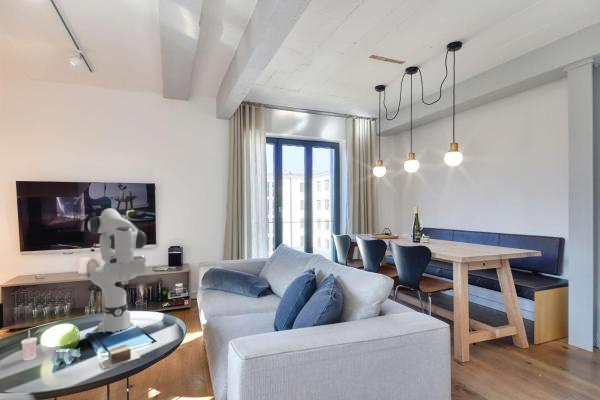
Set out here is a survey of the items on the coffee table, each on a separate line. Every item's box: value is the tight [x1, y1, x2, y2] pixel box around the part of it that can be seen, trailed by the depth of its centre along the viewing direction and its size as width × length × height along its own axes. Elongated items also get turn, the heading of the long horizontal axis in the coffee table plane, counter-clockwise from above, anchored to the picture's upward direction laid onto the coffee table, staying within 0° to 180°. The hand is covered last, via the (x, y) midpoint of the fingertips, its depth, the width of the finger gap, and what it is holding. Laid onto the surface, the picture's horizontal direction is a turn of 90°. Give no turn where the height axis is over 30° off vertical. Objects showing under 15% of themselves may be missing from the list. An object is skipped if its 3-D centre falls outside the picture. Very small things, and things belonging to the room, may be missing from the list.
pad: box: [98, 350, 141, 370], centre depth 158 cm, size 9×16×1 cm, turn 131°
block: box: [107, 343, 131, 364], centre depth 159 cm, size 4×8×8 cm
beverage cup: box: [20, 329, 38, 361], centre depth 162 cm, size 6×6×14 cm
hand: (124, 284), depth 173 cm, fingers closed
